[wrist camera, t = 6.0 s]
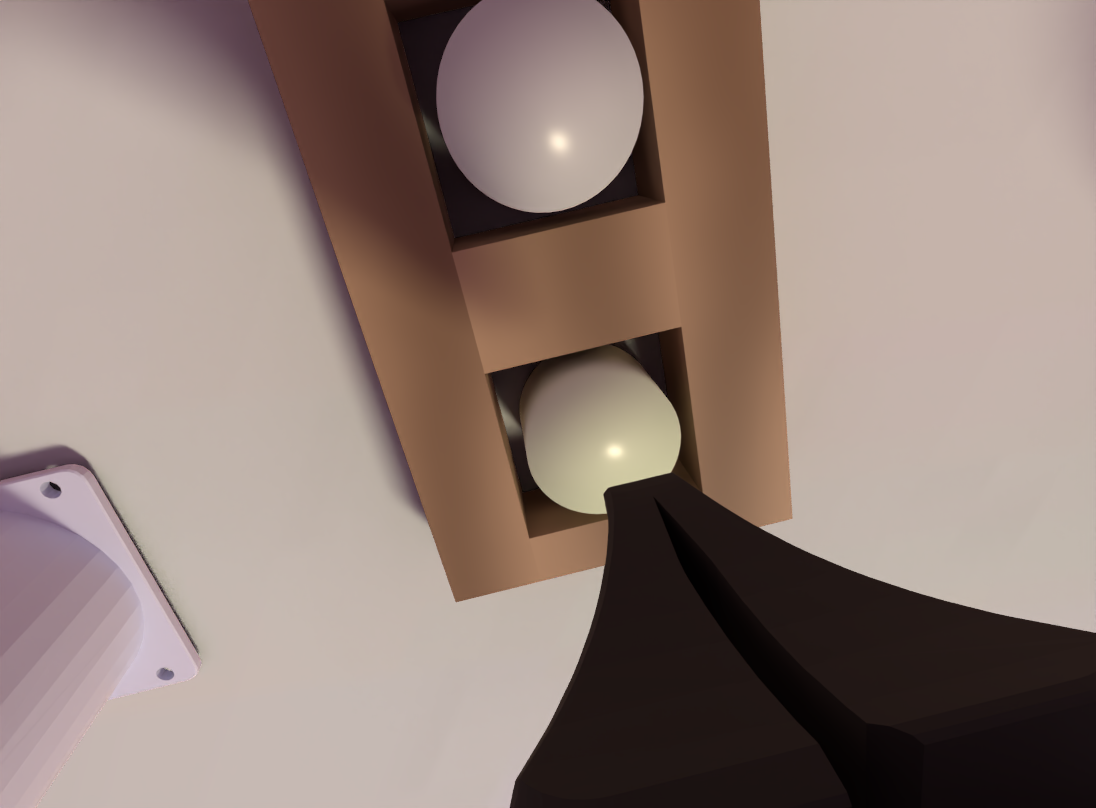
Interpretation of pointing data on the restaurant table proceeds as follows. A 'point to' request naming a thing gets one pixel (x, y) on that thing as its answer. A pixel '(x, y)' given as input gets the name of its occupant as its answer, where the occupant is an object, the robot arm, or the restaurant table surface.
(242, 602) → the restaurant table surface
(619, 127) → the grey button
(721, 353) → the panel
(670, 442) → the sage button
